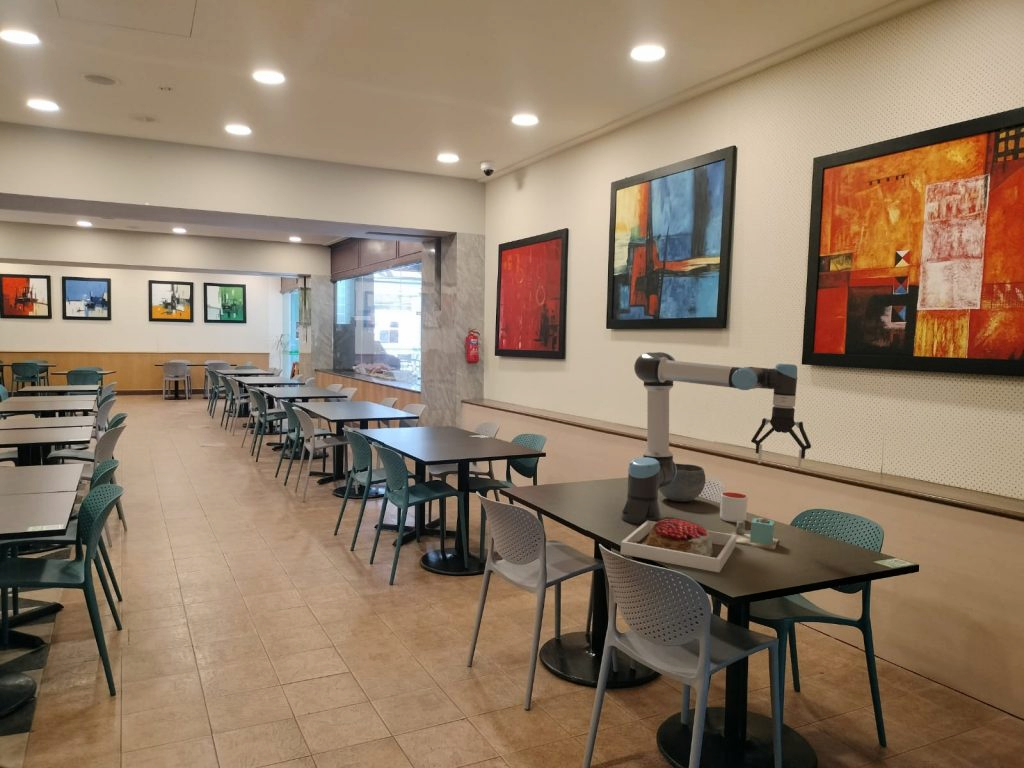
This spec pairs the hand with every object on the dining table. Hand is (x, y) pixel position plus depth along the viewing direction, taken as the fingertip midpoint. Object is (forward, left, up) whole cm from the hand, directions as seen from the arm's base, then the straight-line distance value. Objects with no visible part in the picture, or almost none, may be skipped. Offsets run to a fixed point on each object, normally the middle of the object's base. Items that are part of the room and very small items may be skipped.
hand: (779, 465), depth 256 cm
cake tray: (-26, -36, -27) cm, 52 cm away
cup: (-17, +16, -27) cm, 36 cm away
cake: (-27, -39, -27) cm, 55 cm away
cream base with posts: (-6, -10, -27) cm, 29 cm away
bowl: (-43, +36, -27) cm, 62 cm away
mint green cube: (-3, -10, -26) cm, 28 cm away
